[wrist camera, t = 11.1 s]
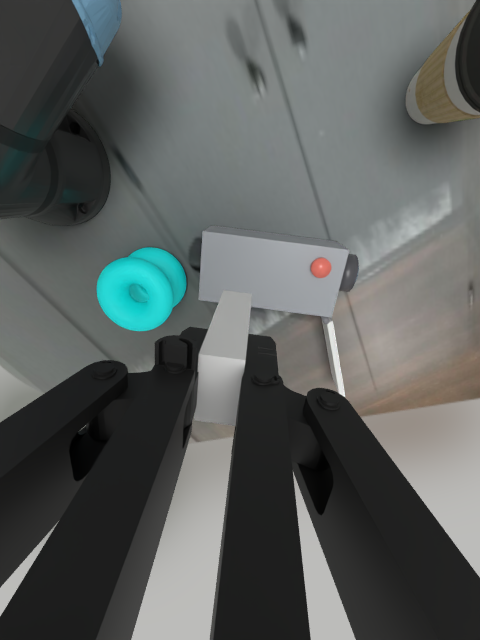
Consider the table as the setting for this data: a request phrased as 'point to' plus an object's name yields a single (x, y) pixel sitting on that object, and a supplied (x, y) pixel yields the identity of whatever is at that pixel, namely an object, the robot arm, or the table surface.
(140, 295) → the donuts
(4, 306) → the table surface
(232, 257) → the grey boxy piece
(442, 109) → the coffee cup
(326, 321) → the side door
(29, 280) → the table surface
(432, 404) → the table surface
